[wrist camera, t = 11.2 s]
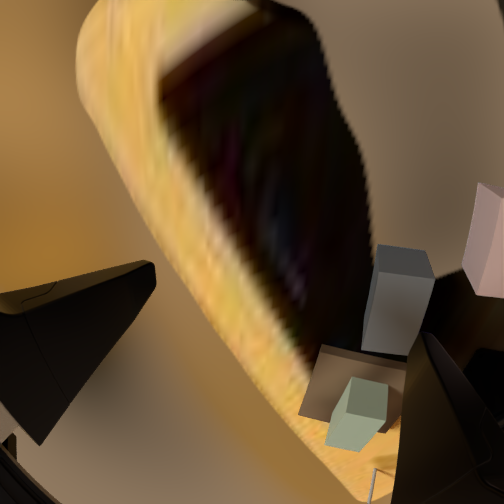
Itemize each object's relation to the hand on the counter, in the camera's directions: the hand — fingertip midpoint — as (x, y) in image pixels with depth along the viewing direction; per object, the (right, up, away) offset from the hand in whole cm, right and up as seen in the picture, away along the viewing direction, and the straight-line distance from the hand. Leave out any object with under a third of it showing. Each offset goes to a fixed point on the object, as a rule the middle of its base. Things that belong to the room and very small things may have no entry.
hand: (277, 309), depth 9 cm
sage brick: (+9, -12, +15) cm, 21 cm away
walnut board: (+9, -12, +16) cm, 22 cm away
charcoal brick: (+10, -1, +11) cm, 14 cm away
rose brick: (+16, +3, +7) cm, 17 cm away
